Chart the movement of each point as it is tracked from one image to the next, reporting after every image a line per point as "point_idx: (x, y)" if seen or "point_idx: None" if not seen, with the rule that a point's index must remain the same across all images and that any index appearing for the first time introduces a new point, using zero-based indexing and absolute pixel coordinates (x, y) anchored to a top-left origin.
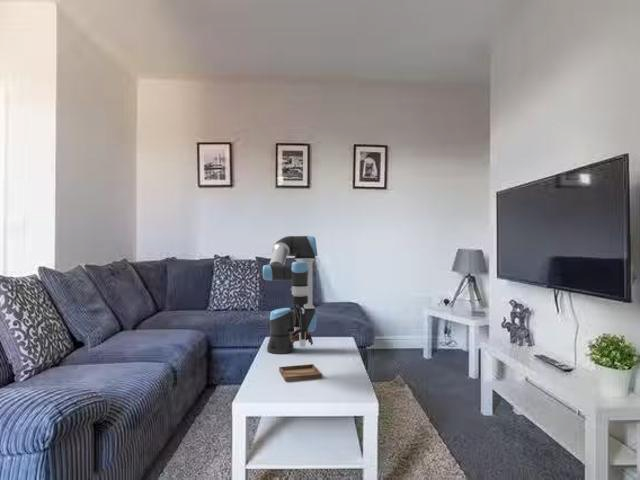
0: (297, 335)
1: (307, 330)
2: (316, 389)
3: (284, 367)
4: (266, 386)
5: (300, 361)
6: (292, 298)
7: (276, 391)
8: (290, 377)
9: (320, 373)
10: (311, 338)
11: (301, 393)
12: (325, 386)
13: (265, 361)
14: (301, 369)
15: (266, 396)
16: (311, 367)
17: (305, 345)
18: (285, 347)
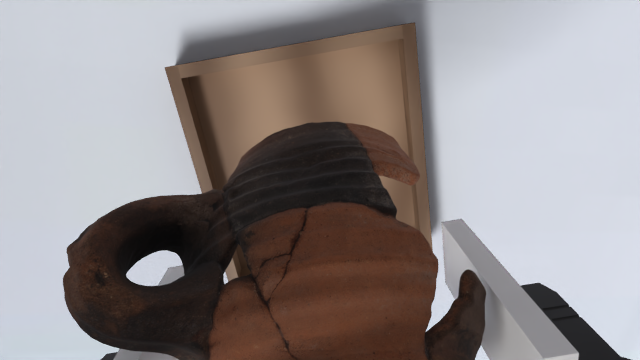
0: None
1: (97, 253)
2: (590, 82)
3: (234, 259)
4: None
5: (11, 145)
6: None
7: (548, 281)
8: (430, 228)
9: (402, 32)
10: (371, 163)
11: (618, 168)
12: (560, 18)
13: (43, 346)
14: (230, 151)
15: (594, 317)
16: (188, 79)
17: (464, 225)
18: None
